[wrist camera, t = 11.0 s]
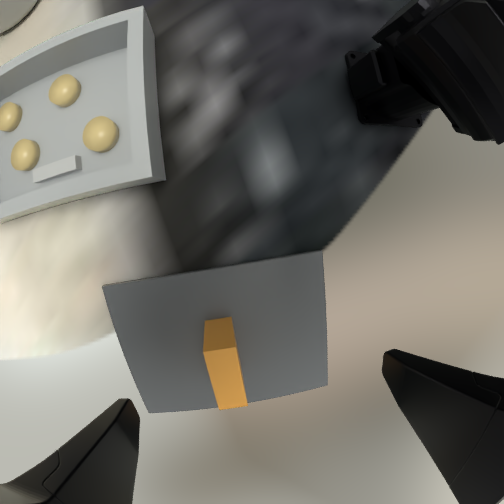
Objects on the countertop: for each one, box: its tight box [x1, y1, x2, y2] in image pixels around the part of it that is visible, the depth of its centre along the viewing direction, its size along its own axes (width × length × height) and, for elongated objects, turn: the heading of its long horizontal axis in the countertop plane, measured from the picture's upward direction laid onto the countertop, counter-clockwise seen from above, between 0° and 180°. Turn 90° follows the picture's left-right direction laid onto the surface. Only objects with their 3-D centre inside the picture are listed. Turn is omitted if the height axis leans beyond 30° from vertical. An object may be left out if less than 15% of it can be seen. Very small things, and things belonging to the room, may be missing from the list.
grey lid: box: [102, 250, 328, 413], centre depth 20 cm, size 17×13×6 cm
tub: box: [0, 6, 166, 224], centre depth 15 cm, size 16×12×4 cm
